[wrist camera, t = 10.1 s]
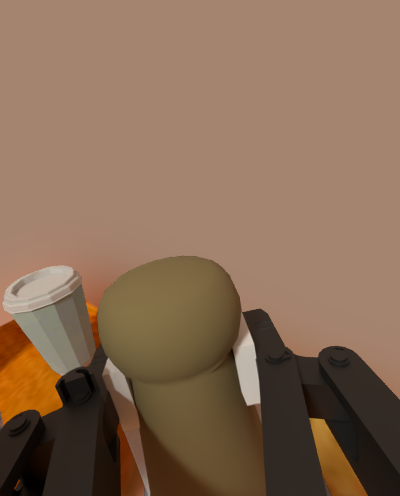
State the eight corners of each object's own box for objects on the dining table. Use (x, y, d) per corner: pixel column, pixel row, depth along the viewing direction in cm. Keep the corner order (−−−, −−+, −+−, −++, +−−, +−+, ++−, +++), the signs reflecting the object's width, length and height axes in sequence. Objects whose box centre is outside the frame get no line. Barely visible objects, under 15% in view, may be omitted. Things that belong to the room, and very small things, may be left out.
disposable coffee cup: (118, 359, 45) (87, 271, 41) (44, 402, 40) (-2, 306, 35) (96, 333, 54) (68, 258, 49) (32, 366, 48) (-6, 284, 43)
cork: (193, 615, 10) (93, 352, 7) (134, 471, 15) (59, 279, 12) (310, 491, 13) (284, 258, 9) (227, 404, 18) (189, 232, 14)
